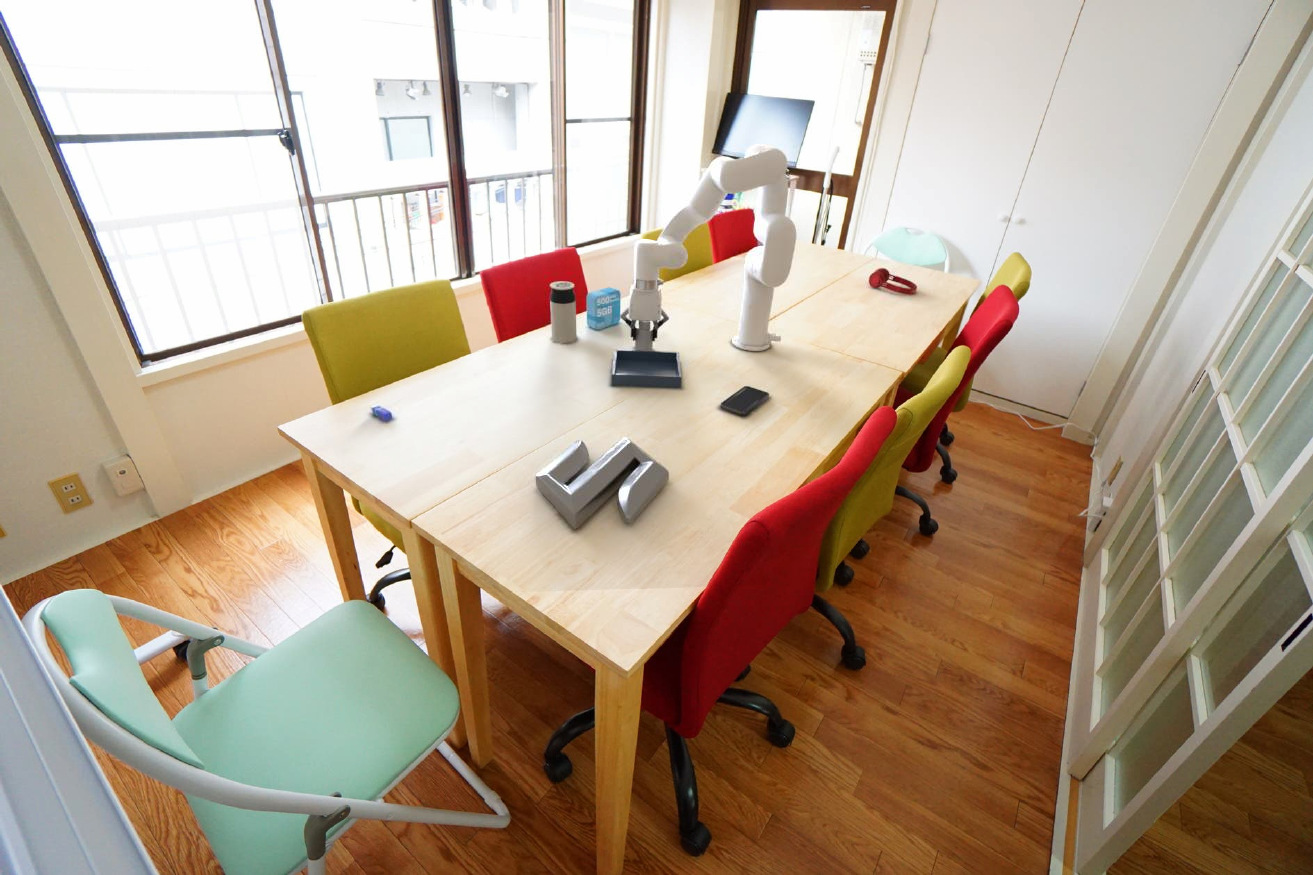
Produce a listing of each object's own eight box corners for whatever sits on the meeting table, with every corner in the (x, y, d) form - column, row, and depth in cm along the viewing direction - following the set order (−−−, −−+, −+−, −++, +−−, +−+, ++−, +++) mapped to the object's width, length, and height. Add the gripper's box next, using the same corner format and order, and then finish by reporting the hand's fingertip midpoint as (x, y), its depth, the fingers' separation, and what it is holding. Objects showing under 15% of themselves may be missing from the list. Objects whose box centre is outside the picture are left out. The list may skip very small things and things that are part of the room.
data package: (595, 331, 197) (595, 296, 190) (586, 327, 199) (585, 293, 193) (620, 322, 204) (620, 289, 198) (611, 319, 207) (611, 286, 201)
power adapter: (639, 345, 188) (640, 310, 181) (653, 350, 185) (654, 314, 179) (633, 348, 185) (634, 312, 179) (647, 353, 183) (649, 316, 177)
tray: (678, 362, 178) (678, 351, 176) (680, 388, 163) (681, 377, 161) (614, 360, 177) (614, 349, 175) (611, 386, 162) (611, 374, 160)
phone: (719, 404, 153) (745, 385, 164) (718, 408, 154) (745, 388, 164) (745, 413, 150) (771, 393, 160) (744, 417, 150) (770, 397, 161)
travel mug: (581, 337, 191) (579, 283, 182) (568, 345, 185) (566, 290, 176) (560, 332, 194) (558, 279, 184) (547, 340, 188) (544, 285, 178)
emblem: (677, 507, 109) (527, 509, 106) (675, 529, 112) (529, 531, 109) (663, 430, 132) (540, 430, 130) (662, 450, 135) (542, 450, 133)
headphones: (864, 286, 255) (908, 302, 248) (870, 271, 251) (915, 286, 244) (872, 279, 266) (915, 294, 259) (878, 264, 262) (922, 279, 255)
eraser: (379, 410, 144) (377, 403, 143) (392, 418, 141) (391, 411, 140) (371, 413, 143) (370, 406, 142) (385, 421, 140) (383, 414, 139)
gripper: (673, 280, 178) (670, 336, 187) (618, 278, 177) (617, 334, 186) (674, 288, 171) (671, 345, 181) (616, 285, 171) (616, 343, 180)
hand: (643, 339), depth 183 cm, fingers closed on power adapter, 5 cm apart
